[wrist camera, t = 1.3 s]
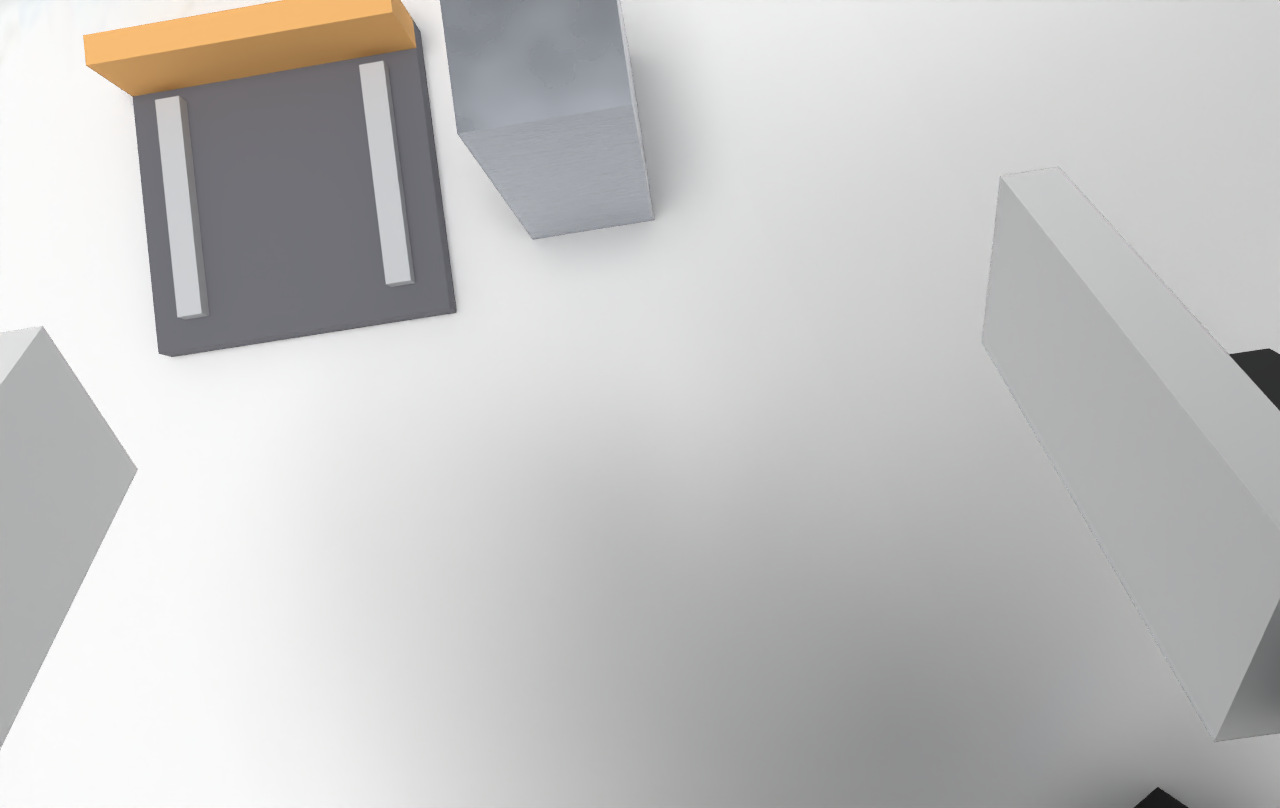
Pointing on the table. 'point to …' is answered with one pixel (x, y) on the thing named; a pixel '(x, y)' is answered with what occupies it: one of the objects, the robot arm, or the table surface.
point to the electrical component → (1160, 801)
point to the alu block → (550, 109)
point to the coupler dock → (283, 170)
